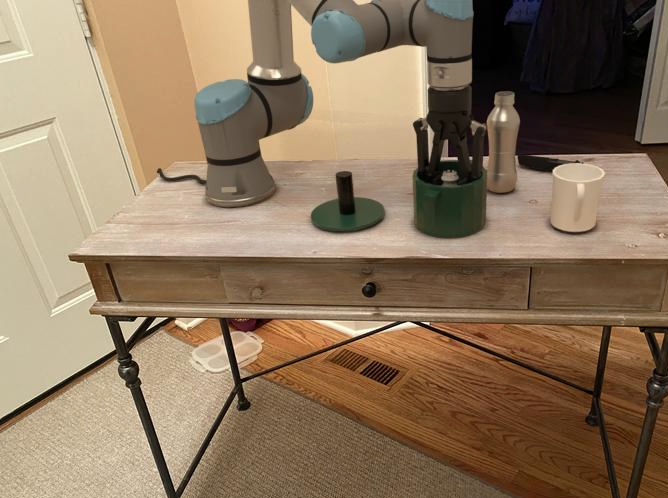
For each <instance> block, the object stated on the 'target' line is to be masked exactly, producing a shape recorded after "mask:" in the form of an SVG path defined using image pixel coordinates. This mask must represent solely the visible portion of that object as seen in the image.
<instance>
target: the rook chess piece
mask: <svg viewBox="0 0 668 498" xmlns="http://www.w3.org/2000/svg"><path fill="white" fill-rule="evenodd" d="M458 178H459V177H458V175H457V172H455V171H454V170H452V173H451V172H450V170H447V173H446V171H444V172H443V175H442V177H441V179H442V180H443V182H444V183H443V185H442V186H456V185H457V183H456V181H457V180H458Z"/></svg>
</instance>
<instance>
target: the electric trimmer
mask: <svg viewBox="0 0 668 498" xmlns="http://www.w3.org/2000/svg"><path fill="white" fill-rule="evenodd" d="M516 158H517V163H518V165H520V166H523V167H527V168H531V169H535V170H538V171H542V172H543V171H544V172H545V171H553V169H554V168H556V167H558V166H560V165H564V164H572V163H581V164H585V163H584V161H582V162H581V161H580V160H579V159H576V160H574V161H572V160H567V159H566V160H565V159H559V158H554V157H553V158H552V157H549V156H539V155H532V154H531V155H529V154H521V153H518V154H517V157H516Z"/></svg>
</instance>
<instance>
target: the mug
mask: <svg viewBox="0 0 668 498" xmlns="http://www.w3.org/2000/svg"><path fill="white" fill-rule="evenodd" d="M605 175H606V172H605V171H604V169H603V168H601V167H599V166H596V165H594V164H593V165H592V164H589V163H584V164H581V163H572V164H564V165H560V166H558V167H556V168H554V169H553V170H552V191H551V192H552V193H551V204H550V207H551V208H550V220H549V222H550V223H549V224H550V226H551V228H553V229H554V230H555V231H557V232H559V233H562V234H567V235H582V234H587V233H590V232H592V231H593V230H594V229H595V227H596V223H597V217H598V212H599V211H598V210H599V205H600V199H601V193H602V188H603V184H604V180H605Z"/></svg>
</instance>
